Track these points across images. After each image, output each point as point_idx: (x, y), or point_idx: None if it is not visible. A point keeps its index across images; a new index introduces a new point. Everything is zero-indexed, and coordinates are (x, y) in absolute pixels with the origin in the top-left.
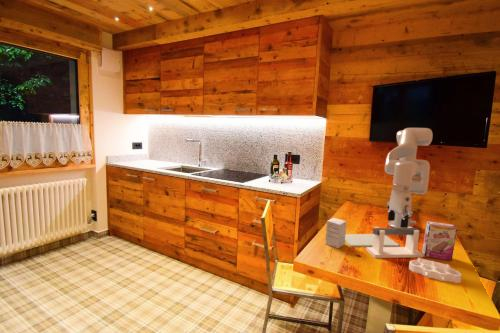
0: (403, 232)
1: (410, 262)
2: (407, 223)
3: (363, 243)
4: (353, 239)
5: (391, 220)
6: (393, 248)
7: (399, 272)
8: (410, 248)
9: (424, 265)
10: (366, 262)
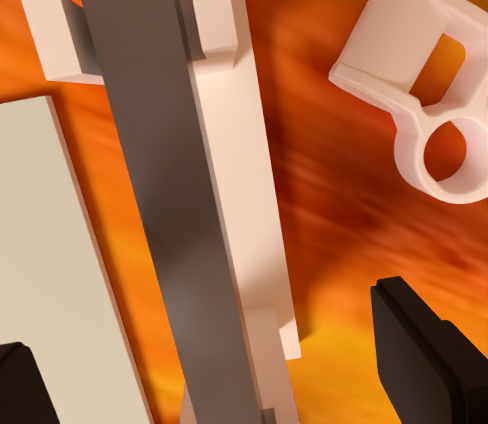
0: (219, 203)
1: (452, 200)
2: (473, 347)
3: (104, 365)
4: None
5: (40, 384)
6: None
7: (467, 268)
8: (198, 73)
9: (486, 109)
10: (358, 400)
